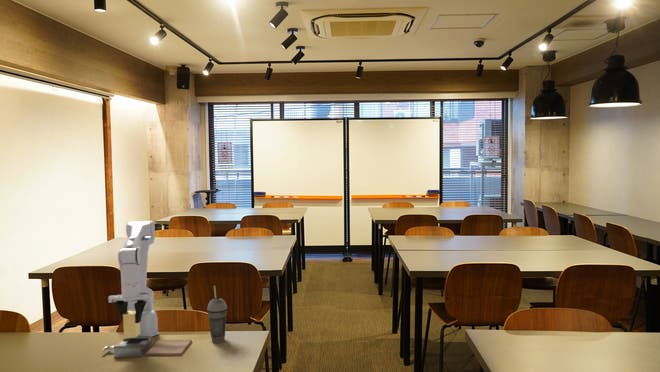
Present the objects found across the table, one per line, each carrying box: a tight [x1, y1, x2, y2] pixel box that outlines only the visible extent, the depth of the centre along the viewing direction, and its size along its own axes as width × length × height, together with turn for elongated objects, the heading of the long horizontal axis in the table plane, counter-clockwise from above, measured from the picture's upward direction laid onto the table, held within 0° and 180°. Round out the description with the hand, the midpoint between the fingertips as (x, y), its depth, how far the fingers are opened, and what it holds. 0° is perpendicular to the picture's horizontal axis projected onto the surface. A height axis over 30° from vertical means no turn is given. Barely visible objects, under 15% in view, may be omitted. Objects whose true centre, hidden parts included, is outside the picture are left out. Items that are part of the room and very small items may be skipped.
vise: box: [101, 336, 152, 358], centre depth 162 cm, size 9×14×4 cm, turn 90°
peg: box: [122, 311, 140, 338], centre depth 162 cm, size 4×4×8 cm
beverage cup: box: [206, 285, 228, 344], centre depth 171 cm, size 7×7×20 cm
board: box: [144, 339, 193, 357], centre depth 165 cm, size 12×12×1 cm
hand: (131, 322), depth 162 cm, fingers closed on peg, 4 cm apart
